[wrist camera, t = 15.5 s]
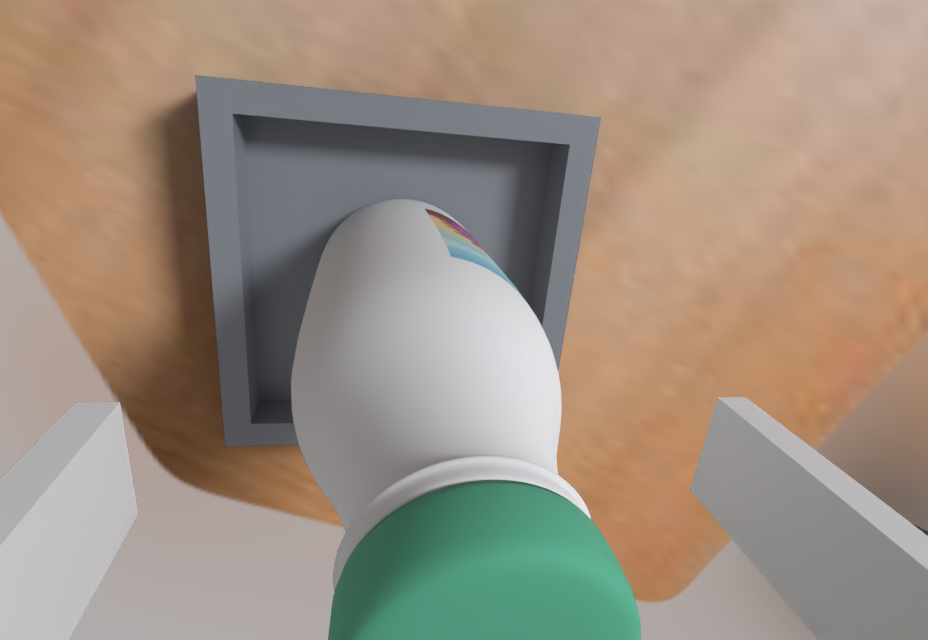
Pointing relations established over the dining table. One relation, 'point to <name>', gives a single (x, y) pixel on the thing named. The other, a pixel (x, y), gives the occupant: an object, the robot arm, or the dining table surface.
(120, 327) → the dining table surface
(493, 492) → the milk bottle
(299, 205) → the tray
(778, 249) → the dining table surface
